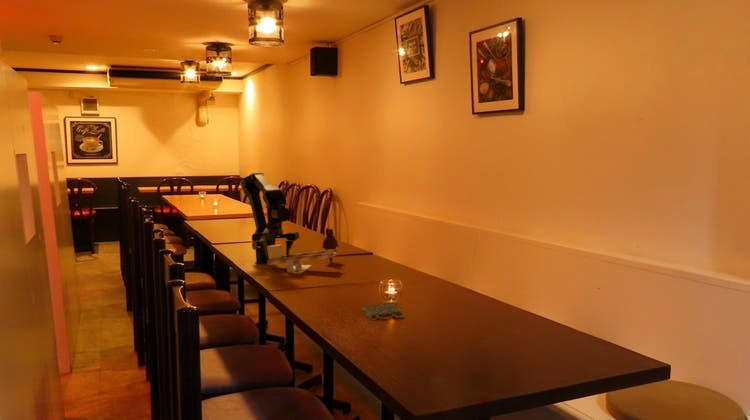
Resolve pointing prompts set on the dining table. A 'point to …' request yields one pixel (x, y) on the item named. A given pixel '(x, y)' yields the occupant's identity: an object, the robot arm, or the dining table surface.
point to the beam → (304, 256)
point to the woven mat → (382, 311)
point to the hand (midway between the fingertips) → (276, 256)
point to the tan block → (275, 251)
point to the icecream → (329, 241)
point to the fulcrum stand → (297, 267)
